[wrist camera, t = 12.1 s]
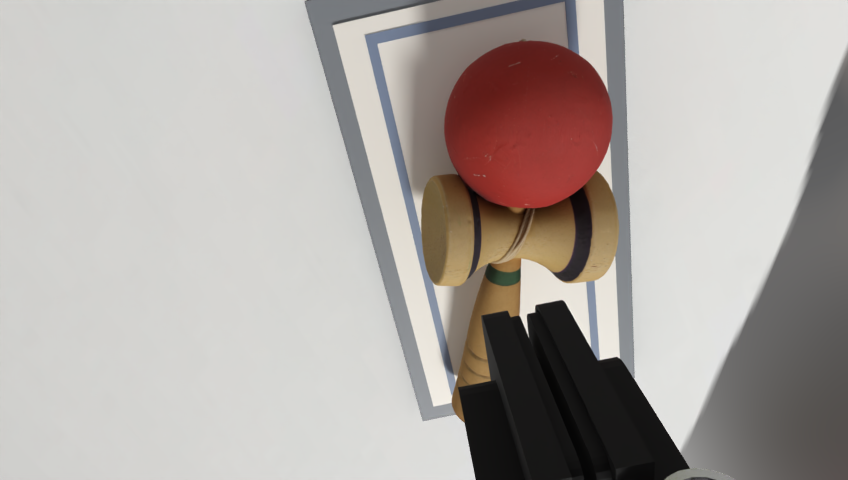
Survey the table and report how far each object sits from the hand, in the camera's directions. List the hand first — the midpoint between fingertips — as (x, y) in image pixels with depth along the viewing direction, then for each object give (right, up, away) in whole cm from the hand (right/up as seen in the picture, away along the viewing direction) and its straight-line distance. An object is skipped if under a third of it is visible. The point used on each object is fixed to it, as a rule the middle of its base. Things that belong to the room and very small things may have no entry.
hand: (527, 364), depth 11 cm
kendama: (+1, +3, +14) cm, 15 cm away
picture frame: (+1, +4, +15) cm, 15 cm away
